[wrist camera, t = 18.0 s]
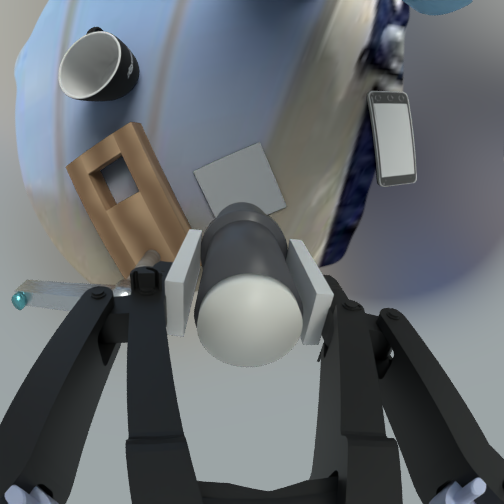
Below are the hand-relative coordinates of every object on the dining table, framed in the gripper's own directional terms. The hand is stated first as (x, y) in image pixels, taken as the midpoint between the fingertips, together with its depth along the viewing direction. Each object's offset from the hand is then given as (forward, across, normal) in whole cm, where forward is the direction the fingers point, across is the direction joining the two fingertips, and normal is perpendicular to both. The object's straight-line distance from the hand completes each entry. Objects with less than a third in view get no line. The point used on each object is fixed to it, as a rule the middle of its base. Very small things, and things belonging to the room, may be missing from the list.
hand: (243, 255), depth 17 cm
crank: (+10, -18, -11) cm, 23 cm away
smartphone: (+24, +22, +12) cm, 35 cm away
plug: (+5, 0, 0) cm, 5 cm away
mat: (+24, 0, 0) cm, 24 cm away
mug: (+24, -20, +17) cm, 36 cm away
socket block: (+24, -15, -4) cm, 28 cm away
